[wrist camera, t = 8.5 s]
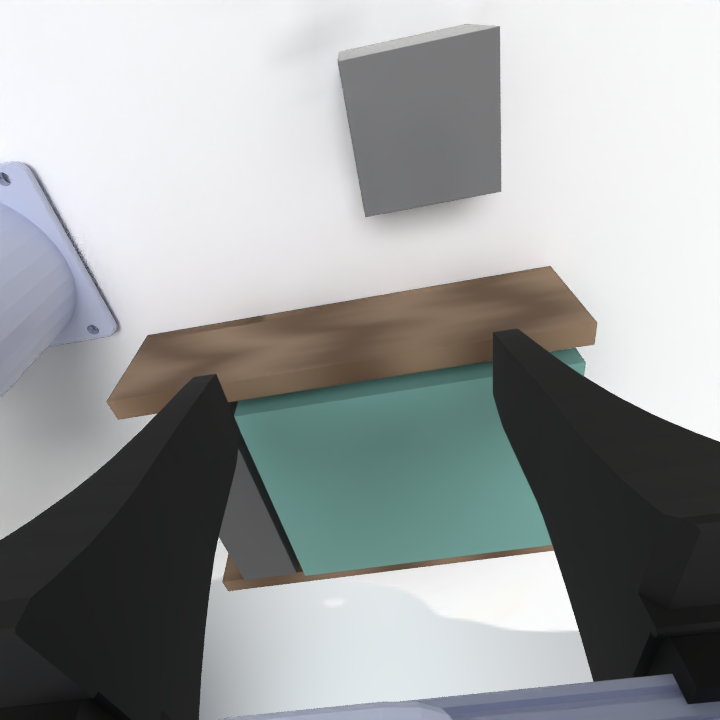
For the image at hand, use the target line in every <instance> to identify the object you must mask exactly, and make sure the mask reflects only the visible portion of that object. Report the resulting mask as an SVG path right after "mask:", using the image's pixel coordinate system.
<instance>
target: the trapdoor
mask: <svg viewBox="0 0 720 720" xmlns="http://www.w3.org/2000/svg"><path fill="white" fill-rule="evenodd" d="M550 353H551V354H552V355H554V356H555V357H556V358H558V359H559V360H561V361H562V362H563V363H565V364H566V365H568V366H569V367H571V368H572V369H574V370H575V371H577V372H578V373H580V374H581V375H583V376H584V371H585V363H586V362H585V361H584V359H583V358H582V356H581V355H580V354H579V352H578V351H577V349H576V348H570V349H564V350H557V351H551V352H550ZM228 403H229V405H230V408H231V410H232V412H233V415H234V417H235V420H236V422H237V424H238V427H239V429H240V435H239V447H238V456H237V464H236V469H235V473H234V477H233V481H232V485H231V489H230V493H229V497H228V501H227V505H226V509H225V513H224V517H223V521H222V525H221V529H220V533H219V538H220V539H221V541H222V543H223V544H224V546H225V548H226V549H227V551H228V553H229V555H230V556H231V558H232V560H233V561H234V563H235V565H236V566H237V568H238V570H239V571H240V573H241V575H242V577H243V578H244V580H249V579H257V578H265V577H273V576H281V575H289V574H297V564H298V561H299V563H300V565H301V567H302V570H303V572H304V574H305V576H308V575H316V574H324V573H332V572H340V571H348V570H356V569H364V568H372V567H380V566H388V565H396V564H403V563H411V562H419V561H427V560H435V559H443V558H451V557H459V556H467V555H475V554H483V553H491V552H499V551H507V550H515V549H523V548H531V547H539V546H547V545H552V543H551V540H550V537H549V534H548V531H547V528H546V525H545V522H544V519H543V516H542V513H541V511H540V509H539V506H538V504H537V501H536V499H535V497H534V494H533V492H532V490H531V488H530V486H529V484H528V481H527V479H526V477H525V475H524V473H523V471H522V468H521V466H520V464H519V462H518V460H517V458H516V455H515V453H514V451H513V449H512V447H511V444H510V442H509V440H508V438H507V436H506V433H505V431H504V429H503V426H502V423H501V420H500V417H499V414H498V410H497V407H496V404H495V400H494V397H493V361H488V362H481V363H475V364H469V365H462V366H456V367H450V368H443V369H437V370H431V371H424V372H418V373H412V374H405V375H399V376H393V377H386V378H380V379H373V380H367V381H361V382H354V383H348V384H342V385H335V386H329V387H323V388H316V389H310V390H304V391H297V392H291V393H285V394H278V395H272V396H266V397H259V398H253V399H247V400H239V401H233V402H228Z"/></svg>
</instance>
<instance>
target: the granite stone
mask: <svg viewBox="0 0 720 720" xmlns="http://www.w3.org/2000/svg"><path fill="white" fill-rule="evenodd" d="M338 66H339V71H340V77H341V83H342V88H343V94H344V99H345V105H346V111H347V116H348V122H349V128H350V133H351V139H352V144H353V150H354V156H355V161H356V167H357V173H358V178H359V184H360V189H361V195H362V201H363V206H364V212H365V217H369V216H374V215H379V214H385V213H390V212H395V211H401V210H406V209H411V208H417V207H422V206H427V205H432V204H438V203H443V202H448V201H454V200H459V199H464V198H470V197H475V196H480V195H485V194H491V193H496V192H501V115H500V26H487V25H471V24H464V25H460V26H455V27H451V28H446V29H442V30H437V31H432V32H428V33H423V34H419V35H414V36H409V37H405V38H400V39H396V40H391V41H387V42H382V43H377V44H373V45H368V46H364V47H359V48H354V49H350V50H345V51H341V52H339V56H338Z"/></svg>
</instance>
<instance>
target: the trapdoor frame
mask: <svg viewBox="0 0 720 720" xmlns="http://www.w3.org/2000/svg"><path fill="white" fill-rule="evenodd" d="M517 328H518V329H519V330H520V331H522V332H523V333H524V334H526V335H527V336H528V337H530V338H531V339H532V340H534V341H535V342H536V343H538V344H539V345H540V346H541V347H543V348H544V349H546V350H547V351H548V352H549V351H556V350H562V349H568V348H575V347H581V346H587V345H594V344H595V336H596V329H597V322H596V320H595V319H594V318H593V317H592V316H591V314H590V313H589V312H588V311H587V310H586V308H585V307H584V306H583V305H582V304H581V302H580V301H579V300H578V299H577V297H576V296H575V295H574V294H573V293H572V291H571V290H570V289H569V288H568V287H567V285H566V284H565V283H564V282H563V281H562V279H561V278H560V277H559V276H558V275H557V273H556V272H555V271H554V270H553V269H552V267H551V266H548V267H543V268H537V269H531V270H525V271H519V272H514V273H508V274H502V275H496V276H490V277H484V278H479V279H473V280H467V281H461V282H455V283H450V284H444V285H438V286H432V287H426V288H421V289H415V290H409V291H403V292H397V293H391V294H386V295H380V296H374V297H368V298H362V299H357V300H351V301H345V302H339V303H333V304H328V305H322V306H316V307H310V308H304V309H298V310H293V311H287V312H281V313H275V314H269V315H264V316H258V317H252V318H246V319H240V320H235V321H229V322H223V323H217V324H211V325H205V326H200V327H194V328H188V329H182V330H176V331H171V332H165V333H159V334H153V335H148V336H147V337H146V339H145V340H144V342H143V344H142V345H141V347H140V348H139V350H138V352H137V353H136V355H135V357H134V358H133V360H132V361H131V363H130V365H129V366H128V368H127V369H126V371H125V373H124V374H123V376H122V378H121V379H120V381H119V382H118V384H117V386H116V387H115V389H114V391H113V392H112V394H111V395H110V397H109V399H108V400H107V403H108V405H109V406H110V408H111V409H112V411H113V413H114V414H115V416H116V417H117V419H118V420H119V419H125V418H131V417H138V416H144V415H150V414H157V413H159V412H160V411H161V410H162V409H163V408H164V407H165V405H166V404H167V403H168V402H169V401H170V400H171V399H172V398H173V397H174V396H175V395H176V394H177V393H178V392H179V391H180V390H181V389H182V388H183V387H184V386H185V385H186V384H187V383H188V382H189V381H190V380H191V379H192V378H193V377H197V376H204V375H211V374H217V377H218V379H219V382H220V384H221V386H222V389H223V391H224V393H225V396H226V398H227V401H228V402H233V401H239V400H247V399H253V398H259V397H266V396H272V395H278V394H285V393H291V392H296V391H302V390H309V389H315V388H321V387H328V386H334V385H340V384H347V383H353V382H359V381H366V380H372V379H378V378H385V377H391V376H397V375H404V374H410V373H416V372H423V371H429V370H435V369H442V368H448V367H454V366H461V365H467V364H473V363H480V362H486V361H492V360H493V332H497V331H504V330H510V329H517ZM546 551H554V548H553V546H552V545H547V546H539V547H531V548H523V549H515V550H507V551H499V552H491V553H483V554H475V555H467V556H459V557H451V558H443V559H435V560H427V561H419V562H411V563H403V564H396V565H388V566H380V567H372V568H364V569H356V570H348V571H340V572H332V573H324V574H316V575H308V576H305V574H304V572H303V570H302V567H301V565H300V563H299V561H298V564H297V574H289V575H281V576H273V577H265V578H257V579H249V580H244V578H243V577H242V575H241V573H240V571H239V570H238V568H237V566H236V565H235V563H234V561H233V560H232V558H231V556H230V555H229V554H228V558H227V563H226V568H225V572H224V577H223V584H224V585H225V587H226V588H227V590H228V591H233V590H241V589H249V588H257V587H264V586H273V585H281V584H289V583H297V582H305V581H313V580H321V579H330V578H338V577H346V576H354V575H362V574H370V573H378V572H386V571H394V570H402V569H410V568H418V567H426V566H434V565H442V564H450V563H458V562H466V561H474V560H482V559H490V558H498V557H506V556H514V555H522V554H530V553H538V552H546Z"/></svg>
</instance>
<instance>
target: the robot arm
mask: <svg viewBox="0 0 720 720" xmlns="http://www.w3.org/2000/svg"><path fill="white" fill-rule="evenodd" d="M2 172H3V173H5V174H7V175H8V177H9V178H10V180H11V183H8V182H6V181H5V180H4V179H3V177H2ZM91 325H94V326H96V327H97V328H98V329H99V330H95V329H93V328H92V327H91ZM116 329H117V324H116V322H115V320H114V318H113V317H112V315H111V313H110V311H109V309H108V308H107V306H106V304H105V302H104V300H103V299H102V297H101V295H100V293H99V291H98V290H97V288H96V286H95V284H94V282H93V281H92V279H91V277H90V275H89V273H88V272H87V270H86V268H85V266H84V264H83V263H82V261H81V259H80V257H79V255H78V254H77V252H76V250H75V248H74V246H73V245H72V243H71V241H70V239H69V238H68V236H67V234H66V232H65V230H64V229H63V227H62V225H61V223H60V221H59V220H58V218H57V216H56V214H55V212H54V211H53V209H52V207H51V205H50V203H49V202H48V200H47V198H46V196H45V194H44V193H43V191H42V189H41V187H40V185H39V184H38V182H37V180H36V178H35V176H34V175H33V173H32V171H31V170H30V169H29V167H27V166H26V165H25V164H23V163H21V162H18V161H12V162H7V163H2V164H0V399H1V398H2V397H3V395H4V394H5V393H6V392H7V391H8V390H9V389H10V388H11V387H12V385H13V384H14V383H15V382H16V381H17V380H18V379H19V378H20V377H21V375H22V374H23V373H24V372H25V371H26V370H27V369H28V368H29V367H30V365H31V364H32V363H33V362H34V361H35V360H36V359H37V358H38V357H39V355H40V354H41V353H42V352H43V351H44V350H45V349H46V348H47V347H50V346H56V345H62V344H68V343H73V342H79V341H85V340H91V339H96V338H102V337H108V336H111V335H112V334H113V333H114V332H115V331H116ZM493 397H494V400H495V404H496V407H497V410H498V414H499V417H500V420H501V423H502V426H503V429H504V431H505V433H506V436H507V438H508V440H509V442H510V444H511V447H512V449H513V451H514V453H515V455H516V458H517V460H518V462H519V464H520V466H521V468H522V471H523V473H524V475H525V477H526V479H527V481H528V484H529V486H530V488H531V490H532V492H533V494H534V497H535V499H536V501H537V504H538V506H539V509H540V511H541V513H542V516H543V519H544V522H545V525H546V528H547V531H548V534H549V537H550V540H551V543H552V546H553V548H554V551H555V555H556V558H557V561H558V564H559V567H560V570H561V573H562V576H563V580H564V583H565V586H566V589H567V592H568V595H569V599H570V602H571V605H572V609H573V612H574V615H575V619H576V622H577V625H578V629H579V632H580V635H581V638H582V642H583V646H584V649H585V653H586V656H587V660H588V664H589V667H590V671H591V674H592V678H593V681H594V682H587V683H577V684H569V685H568V684H567V685H558V686H548V687H538V688H528V689H519V690H509V691H499V692H489V693H480V694H469V695H460V696H449V697H441V698H431V699H420V700H411V701H400V702H376V703H365V704H355V705H346V706H336V707H326V708H317V709H306V710H296V711H287V712H277V713H268V714H257V715H247V716H238V717H228V718H224V719H219V720H720V442H719V441H716V440H713V439H711V438H708V437H705V436H703V435H700V434H697V433H695V432H692V431H690V430H688V429H685V428H683V427H680V426H678V425H676V424H673V423H671V422H669V421H666V420H664V419H662V418H660V417H657V416H655V415H653V414H651V413H649V412H647V411H645V410H643V409H641V408H639V407H637V406H635V405H633V404H631V403H629V402H627V401H625V400H623V399H621V398H619V397H618V396H616V395H614V394H612V393H610V392H609V391H607V390H605V389H604V388H602V387H600V386H599V385H597V384H595V383H594V382H592V381H591V380H589V379H587V378H586V377H584V376H583V375H581V374H580V373H578V372H577V371H575V370H574V369H572V368H571V367H569V366H568V365H566V364H565V363H563V362H562V361H561V360H559V359H558V358H556V357H555V356H554V355H552V354H551V353H550V352H548V351H547V350H546V349H544V348H543V347H541V346H540V345H539V344H538V343H536V342H535V341H534V340H532V339H531V338H530V337H528V336H527V335H526V334H524V333H523V332H522V331H520V330H519V329H518V328H517V329H510V330H504V331H497V332H493ZM239 435H240V429H239V427H238V424H237V422H236V420H235V417H234V415H233V412H232V410H231V408H230V405H229V403H228V401H227V398H226V396H225V393H224V391H223V389H222V386H221V384H220V382H219V379H218V377H217V374H211V375H204V376H197V377H193V378H192V379H191V380H190V381H189V382H188V383H187V384H186V385H185V386H184V387H183V388H182V389H181V390H180V391H179V392H178V393H177V394H176V395H175V396H174V397H173V398H172V399H171V400H170V401H169V402H168V403H167V404H166V405H165V407H164V408H163V409H162V410H161V411H160V412H159V413H158V414H157V415H156V416H155V417H154V418H153V419H152V420H151V421H150V422H149V423H148V424H147V425H146V426H145V427H144V428H143V429H142V430H141V431H140V432H139V433H138V434H137V435H136V436H135V437H134V438H133V439H132V440H131V441H130V442H129V443H128V444H127V445H125V446H124V447H123V448H122V449H121V450H120V451H119V452H118V453H117V454H116V455H115V456H114V457H113V458H112V459H111V460H109V461H108V462H107V463H106V464H105V465H104V466H103V467H101V468H100V469H99V470H98V471H97V472H96V473H94V474H93V475H92V476H91V477H89V478H88V479H87V480H86V481H84V482H83V483H82V484H81V485H79V486H78V487H77V488H76V489H74V490H73V491H72V492H70V493H69V494H68V495H66V496H65V497H64V498H62V499H61V500H59V501H58V502H57V503H55V504H54V505H52V506H51V507H50V508H48V509H47V510H45V511H44V512H42V513H41V514H40V515H38V516H37V517H35V518H34V519H33V520H31V521H30V522H28V523H27V524H25V525H24V526H22V527H20V528H19V529H17V530H16V531H14V532H13V533H11V534H10V535H8V536H6V537H5V538H3V539H1V540H0V720H199V705H200V687H201V672H202V660H203V649H204V637H205V636H204V635H205V627H206V617H207V608H208V600H209V591H210V585H211V577H212V570H213V563H214V556H215V551H216V546H217V541H218V537H219V533H220V529H221V525H222V521H223V517H224V513H225V509H226V505H227V501H228V497H229V493H230V489H231V485H232V481H233V477H234V473H235V469H236V464H237V456H238V447H239Z"/></svg>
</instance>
